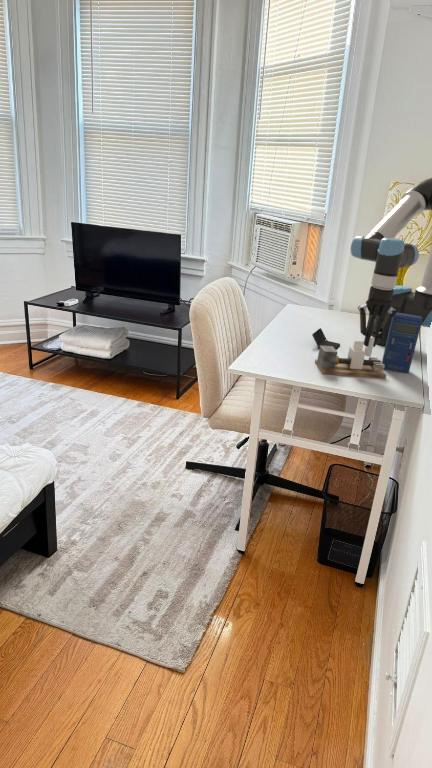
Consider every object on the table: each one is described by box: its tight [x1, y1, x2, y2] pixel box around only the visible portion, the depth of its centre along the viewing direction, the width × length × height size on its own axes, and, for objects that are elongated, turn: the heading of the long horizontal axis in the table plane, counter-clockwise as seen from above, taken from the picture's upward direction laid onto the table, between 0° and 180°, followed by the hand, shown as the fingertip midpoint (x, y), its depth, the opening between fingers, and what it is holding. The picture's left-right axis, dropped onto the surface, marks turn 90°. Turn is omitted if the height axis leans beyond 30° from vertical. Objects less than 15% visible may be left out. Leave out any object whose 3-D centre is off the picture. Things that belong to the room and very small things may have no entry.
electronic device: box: [381, 313, 423, 374], centre depth 184 cm, size 10×5×20 cm, turn 75°
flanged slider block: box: [347, 340, 366, 369], centre depth 181 cm, size 4×5×9 cm
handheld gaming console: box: [311, 327, 341, 351], centre depth 205 cm, size 12×7×10 cm
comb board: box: [314, 346, 387, 379], centre depth 181 cm, size 22×11×7 cm, turn 94°
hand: (367, 354), depth 181 cm, fingers closed
